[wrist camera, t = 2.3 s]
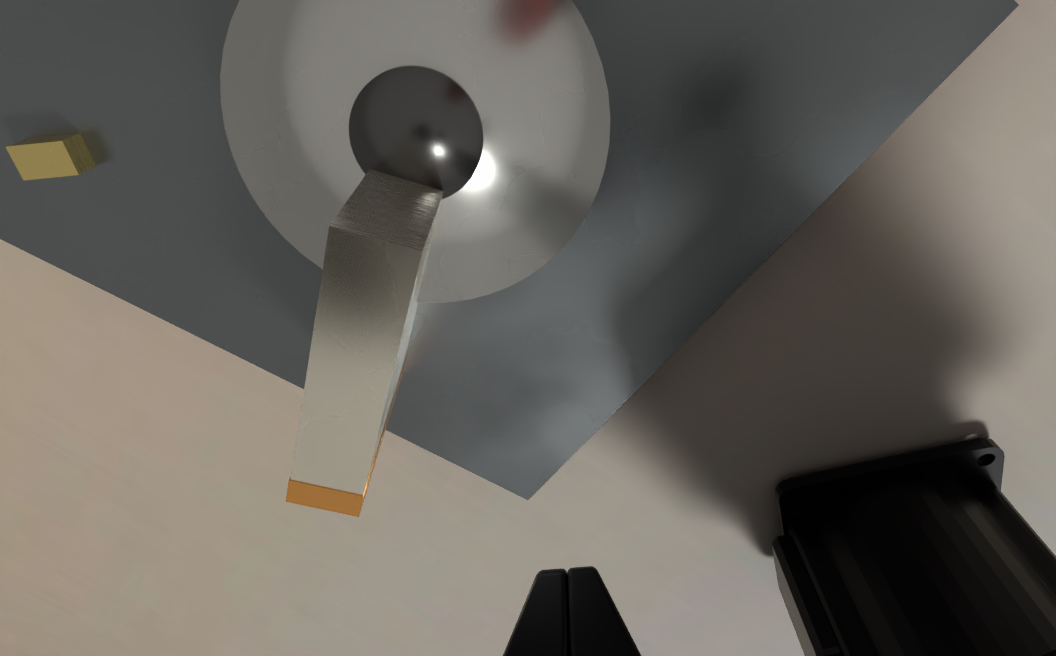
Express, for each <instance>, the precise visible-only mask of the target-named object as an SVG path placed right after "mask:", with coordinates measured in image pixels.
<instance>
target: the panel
mask: <svg viewBox="0 0 1056 656" xmlns="http://www.w3.org/2000/svg"><path fill="white" fill-rule="evenodd" d="M238 2H239V0H0V239H2V240H4V241H6V242H8V243H10V244H12V245H14V246H16V247H18V248H20V249H22V250H24V251H26V252H28V253H30V254H32V255H34V256H36V257H38V258H40V259H42V260H44V261H46V262H48V263H50V264H52V265H54V266H56V267H58V268H60V269H62V270H64V271H66V272H68V273H70V274H72V275H74V276H76V277H78V278H80V279H82V280H84V281H86V282H88V283H91V284H93V285H95V286H97V287H99V288H101V289H103V290H105V291H107V292H109V293H111V294H113V295H115V296H117V297H119V298H121V299H123V300H125V301H127V302H129V303H131V304H133V305H135V306H137V307H139V308H141V309H143V310H145V311H147V312H149V313H151V314H153V315H155V316H157V317H159V318H161V319H163V320H165V321H167V322H169V323H171V324H173V325H175V326H177V327H179V328H181V329H183V330H185V331H187V332H190V333H192V334H194V335H196V336H198V337H200V338H202V339H204V340H206V341H208V342H210V343H212V344H214V345H216V346H218V347H220V348H222V349H224V350H226V351H228V352H230V353H232V354H234V355H236V356H238V357H240V358H242V359H244V360H246V361H248V362H250V363H252V364H254V365H256V366H258V367H260V368H262V369H264V370H266V371H268V372H270V373H272V374H274V375H276V376H278V377H280V378H282V379H284V380H286V381H289V382H291V383H293V384H295V385H297V386H299V387H301V388H303V389H304V387H305V381H306V374H307V368H308V361H309V355H310V348H311V341H312V335H313V328H314V322H315V315H316V309H317V302H318V296H319V289H320V283H321V276H322V270H323V269H321V268H320V267H319V266H317V265H316V264H314V263H313V262H312V261H310V260H309V259H308V258H306V257H305V256H304V255H302V254H301V253H300V252H299V251H298V250H297V249H296V248H295V247H293V246H292V245H291V244H290V243H289V242H288V241H287V240H286V239H285V238H284V237H283V236H282V235H281V234H280V233H279V232H278V230H277V229H276V228H275V227H274V226H273V225H272V224H271V222H270V221H269V220H268V219H267V218H266V216H265V215H264V213H263V212H262V210H261V209H260V208H259V206H258V205H257V203H256V202H255V200H254V199H253V197H252V195H251V194H250V192H249V190H248V188H247V186H246V184H245V183H244V181H243V179H242V177H241V175H240V172H239V170H238V168H237V165H236V163H235V160H234V158H233V155H232V153H231V149H230V146H229V142H228V138H227V135H226V131H225V127H224V121H223V114H222V107H221V93H220V72H221V63H222V55H223V47H224V43H225V40H226V36H227V32H228V28H229V24H230V21H231V19H232V16H233V14H234V12H235V9H236V7H237V5H238ZM572 2H573V3H574V4H575V6H576V7H577V9H578V10H579V12H580V14H581V16H582V18H583V20H584V22H585V24H586V26H587V28H588V30H589V32H590V34H591V36H592V37H593V40H594V43H595V46H596V48H597V51H598V54H599V57H600V60H601V62H602V66H603V70H604V75H605V79H606V84H607V89H608V96H609V107H610V140H609V149H608V154H607V160H606V166H605V170H604V173H603V177H602V180H601V183H600V186H599V189H598V192H597V194H596V197H595V199H594V201H593V203H592V205H591V207H590V210H589V212H588V214H587V215H586V217H585V218H584V220H583V221H582V223H581V225H580V226H579V228H578V229H577V231H576V232H575V234H574V235H573V236H572V237H571V238H570V240H569V241H568V242H567V243H566V245H565V246H564V247H563V248H562V249H561V250H560V251H559V252H558V253H557V254H556V255H555V256H554V257H553V258H552V259H550V260H549V261H548V262H547V263H546V264H545V265H544V266H542V267H541V268H539V269H538V270H537V271H535V272H534V273H532V274H531V275H530V276H528V277H526V278H524V279H523V280H521V281H519V282H517V283H515V284H513V285H512V286H510V287H507V288H505V289H502V290H500V291H497V292H494V293H492V294H489V295H485V296H481V297H478V298H474V299H470V300H463V301H455V302H448V303H422V302H419V303H418V307H417V311H416V315H415V319H414V323H413V327H412V331H411V335H410V339H409V343H408V347H407V351H406V355H405V359H404V363H403V365H404V366H403V370H402V374H401V378H400V382H399V386H398V389H397V392H396V396H395V399H394V402H393V406H392V409H391V412H390V415H389V419H388V422H387V425H386V429H385V430H388V431H390V432H392V433H394V434H396V435H398V436H400V437H402V438H404V439H406V440H408V441H410V442H412V443H414V444H416V445H418V446H420V447H422V448H424V449H426V450H428V451H430V452H432V453H434V454H436V455H438V456H440V457H442V458H444V459H446V460H448V461H450V462H452V463H454V464H456V465H458V466H460V467H462V468H464V469H466V470H468V471H470V472H472V473H474V474H476V475H478V476H480V477H482V478H485V479H487V480H489V481H491V482H493V483H495V484H497V485H499V486H501V487H503V488H505V489H507V490H509V491H511V492H513V493H515V494H517V495H519V496H521V497H523V498H525V499H527V500H529V499H530V498H531V497H532V496H533V495H534V494H535V493H536V492H537V491H538V490H539V489H540V488H541V487H542V486H543V485H544V484H545V483H546V482H547V481H548V480H549V479H550V478H551V477H552V476H553V475H554V474H555V473H556V472H557V471H558V470H559V468H560V467H561V466H562V465H563V464H564V463H565V462H566V461H567V460H568V459H569V458H570V457H571V456H572V455H573V454H574V453H575V452H576V451H577V450H578V449H579V448H580V447H581V446H582V445H583V444H584V443H585V442H586V441H587V440H588V439H589V438H590V437H591V436H592V435H593V434H594V433H595V432H596V431H597V430H598V429H599V428H600V427H601V426H602V425H603V424H604V423H605V422H606V421H607V420H608V419H609V418H610V417H611V416H612V415H613V414H614V413H615V412H616V411H617V410H618V409H619V408H620V407H621V406H622V405H623V404H624V403H625V402H626V401H627V400H628V399H629V398H630V397H631V396H632V395H633V394H634V393H635V392H636V391H637V390H638V389H639V388H640V387H641V386H642V385H643V384H644V383H645V382H646V381H647V380H648V379H649V378H650V377H651V376H652V375H653V374H654V373H655V372H656V371H657V370H658V369H659V368H660V367H661V366H662V365H663V364H664V363H665V362H666V361H667V360H668V359H669V358H670V357H671V355H672V354H673V353H674V352H675V351H676V350H677V349H678V348H679V347H680V346H681V345H682V344H683V343H684V342H685V341H686V340H687V339H688V338H689V337H690V336H691V335H692V334H693V333H694V332H695V331H696V330H697V329H698V328H699V327H700V326H701V325H702V324H703V323H704V322H705V321H706V320H707V319H708V318H709V317H710V316H711V315H712V314H713V313H714V312H715V311H716V310H717V309H718V308H719V307H720V306H721V305H722V304H723V303H724V302H725V301H726V300H727V299H728V298H729V297H730V296H731V295H732V294H733V293H734V292H735V291H736V290H737V289H738V288H739V287H740V286H741V285H742V284H743V283H744V282H745V281H746V280H747V279H748V278H749V277H750V276H751V275H752V274H753V273H754V272H755V271H756V270H757V269H758V268H759V267H760V266H761V265H762V264H763V263H764V262H765V261H766V260H767V259H768V258H769V257H770V256H771V255H772V254H773V253H774V252H775V251H776V250H777V249H778V248H779V247H780V246H781V245H782V243H783V242H784V241H785V240H786V239H787V238H788V237H789V236H790V235H791V234H792V233H793V232H794V231H795V230H796V229H797V228H798V227H799V226H800V225H801V224H802V223H803V222H804V221H805V220H806V219H807V218H808V217H809V216H810V215H811V214H812V213H813V212H814V211H815V210H816V209H817V208H818V207H819V206H820V205H821V204H822V203H823V202H824V201H825V200H826V199H827V198H828V197H829V196H830V195H831V194H832V193H833V192H834V191H835V190H836V189H837V188H838V187H839V186H840V185H841V184H842V183H843V182H844V181H845V180H846V179H847V178H848V177H849V176H850V175H851V174H852V173H853V172H854V171H855V170H856V169H857V168H858V167H859V166H860V165H861V164H862V163H863V162H864V161H865V160H866V159H867V158H868V157H869V156H870V155H871V154H872V153H873V152H874V151H875V150H876V149H877V148H878V147H879V146H880V145H881V144H882V143H883V142H884V141H885V140H886V139H887V138H888V137H889V136H890V135H891V134H892V133H893V131H894V130H895V129H896V128H897V127H898V126H899V125H900V124H901V123H902V122H903V121H904V120H905V119H906V118H907V117H908V116H909V115H910V114H911V113H912V112H913V111H914V110H915V109H916V108H917V107H918V106H919V105H920V104H921V103H922V102H923V101H924V100H925V99H926V98H927V97H928V96H929V95H930V94H931V93H932V92H933V91H934V90H935V89H936V88H937V87H938V86H939V85H940V84H941V83H942V82H943V81H944V80H945V79H946V78H947V77H948V76H949V75H950V74H951V73H952V72H953V71H954V70H955V69H956V68H957V67H958V66H959V65H960V64H961V63H962V62H963V61H964V60H965V59H966V58H967V57H968V56H969V55H970V54H971V53H972V52H973V51H974V50H975V49H976V48H977V47H978V46H979V45H980V44H981V43H982V42H983V41H984V40H985V39H986V38H987V37H988V36H989V35H990V34H991V33H992V32H993V31H994V30H995V29H996V28H997V27H998V26H999V25H1000V24H1001V23H1002V22H1003V21H1004V20H1005V18H1006V17H1007V16H1008V15H1009V14H1010V13H1011V12H1012V11H1013V10H1014V9H1015V8H1016V7H1017V6H1018V4H1017V3H1016V2H1015V1H1014V0H572Z"/></svg>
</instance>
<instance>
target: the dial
mask: <svg viewBox="0 0 1056 656" xmlns="http://www.w3.org/2000/svg"><path fill="white" fill-rule="evenodd" d="M220 93H221V107H222V114H223V121H224V127H225V131H226V135H227V138H228V142H229V146H230V149H231V153H232V155H233V158H234V160H235V163H236V165H237V168H238V170H239V172H240V175H241V177H242V179H243V181H244V183H245V184H246V186H247V188H248V190H249V192H250V194H251V195H252V197H253V199H254V200H255V202H256V203H257V205H258V206H259V208H260V209H261V210H262V212H263V213H264V215H265V216H266V218H267V219H268V220H269V221H270V222H271V224H272V225H273V226H274V227H275V228H276V229H277V230H278V232H279V233H280V234H281V235H282V236H283V237H284V238H285V239H286V240H287V241H288V242H289V243H290V244H291V245H292V246H293V247H295V248H296V249H297V250H298V251H299V252H300V253H301V254H302V255H304V256H305V257H306V258H308V259H309V260H310V261H312V262H313V263H314V264H316V265H317V266H319V267H320V268H321V269H323V270H322V276H321V283H320V289H319V296H318V302H317V309H316V315H315V322H314V328H313V335H312V341H311V348H310V355H309V361H308V368H307V374H306V381H305V387H304V394H303V400H302V407H301V413H300V420H299V426H298V433H297V439H296V446H295V452H294V459H293V466H292V472H291V477H290V479H289V483H288V490H287V496H286V502H291V503H295V504H300V505H305V506H309V507H314V508H319V509H324V510H328V511H333V512H338V513H343V514H347V515H352V516H357V517H359V515H360V511H361V508H362V505H363V501H364V498H365V495H366V492H367V488H368V485H369V482H370V478H371V475H372V472H373V468H374V465H375V462H376V458H377V455H378V452H379V449H380V445H381V442H382V439H383V435H384V432H385V429H386V425H387V422H388V419H389V415H390V412H391V409H392V406H393V402H394V399H395V396H396V392H397V389H398V386H399V382H400V378H401V374H402V370H403V366H404V365H403V363H404V359H405V355H406V351H407V347H408V343H409V339H410V335H411V331H412V327H413V323H414V319H415V315H416V311H417V307H418V303H419V302H422V303H448V302H455V301H463V300H470V299H474V298H478V297H481V296H485V295H489V294H492V293H494V292H497V291H500V290H502V289H505V288H507V287H510V286H512V285H513V284H515V283H517V282H519V281H521V280H523V279H524V278H526V277H528V276H530V275H531V274H532V273H534V272H535V271H537V270H538V269H539V268H541V267H542V266H544V265H545V264H546V263H547V262H548V261H549V260H550V259H552V258H553V257H554V256H555V255H556V254H557V253H558V252H559V251H560V250H561V249H562V248H563V247H564V246H565V245H566V243H567V242H568V241H569V240H570V238H571V237H572V236H573V235H574V234H575V232H576V231H577V229H578V228H579V226H580V225H581V223H582V221H583V220H584V218H585V217H586V215H587V214H588V212H589V210H590V207H591V205H592V203H593V201H594V199H595V197H596V194H597V192H598V189H599V186H600V183H601V180H602V177H603V173H604V170H605V166H606V160H607V154H608V149H609V140H610V107H609V96H608V89H607V84H606V79H605V75H604V70H603V66H602V62H601V60H600V57H599V54H598V51H597V48H596V46H595V43H594V40H593V37H592V36H591V34H590V32H589V30H588V28H587V26H586V24H585V22H584V20H583V18H582V16H581V14H580V12H579V10H578V9H577V7H576V6H575V4H574V3H573V2H572V0H239V2H238V5H237V7H236V9H235V12H234V14H233V16H232V19H231V21H230V24H229V28H228V32H227V36H226V40H225V43H224V47H223V55H222V63H221V72H220Z"/></svg>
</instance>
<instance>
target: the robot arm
mask: <svg viewBox="0 0 1056 656" xmlns="http://www.w3.org/2000/svg"><path fill="white" fill-rule="evenodd" d="M1003 465H1004V452H1003V451H1002V450H1001V449H1000V447H999V446H998V445H997V444H996V443H995V442H994V441H993V440H992V439H988V438H979V439H974V440H969V441H965V442H960V443H955V444H950V445H946V446H941V447H936V448H931V449H927V450H922V451H917V452H912V453H908V454H903V455H898V456H893V457H889V458H884V459H879V460H874V461H870V462H865V463H860V464H855V465H851V466H846V467H841V468H837V469H832V470H827V471H822V472H818V473H813V474H808V475H803V476H799V477H794V478H789V479H786V480H784V481H782V482H781V483H779V484H778V485H777V487H776V488H775V497H776V503H777V509H778V516H779V522H780V529H781V535H779V536H776V537H775V538H774V540H773V542H772V550H773V556H774V562H775V568H776V573H777V579H778V585H779V589H780V592H781V594H782V597H783V599H784V602H785V605H786V607H787V610H788V613H789V615H790V618H791V620H792V623H793V626H794V628H795V631H796V634H797V636H798V639H799V641H800V644H801V647H802V649H803V652H804V655H805V656H1056V556H1055V555H1054V554H1053V552H1052V551H1051V550H1050V549H1049V548H1048V547H1047V545H1046V544H1045V543H1044V542H1043V541H1042V539H1041V538H1040V537H1039V536H1038V535H1037V534H1036V532H1035V531H1034V530H1033V529H1032V528H1031V527H1030V525H1029V524H1028V523H1027V522H1026V521H1025V520H1024V518H1023V517H1022V516H1021V515H1020V514H1019V512H1018V511H1017V510H1016V509H1015V508H1014V507H1013V505H1012V504H1011V503H1010V502H1009V501H1008V500H1007V498H1006V497H1005V496H1004V495H1003V494H1002V492H1001V483H1002V474H1003ZM794 493H795V494H794ZM792 494H793V495H792ZM503 656H641V654H640V652H639V651H638V649H637V647H636V645H635V643H634V641H633V639H632V637H631V635H630V633H629V631H628V629H627V627H626V625H625V623H624V621H623V619H622V617H621V615H620V613H619V612H618V610H617V608H616V606H615V604H614V602H613V600H612V598H611V596H610V594H609V592H608V590H607V588H606V586H605V584H604V582H603V580H602V578H601V576H600V574H599V573H598V571H597V569H596V568H594V567H592V566H589V567H576V568H570V569H569V570H568V572H566V570H564V569H550V570H541V571H540V572H539V573H538V574H537V575H536V577H535V580H534V582H533V584H532V587H531V589H530V592H529V594H528V596H527V599H526V601H525V604H524V606H523V609H522V611H521V613H520V616H519V618H518V621H517V623H516V625H515V628H514V630H513V633H512V635H511V637H510V640H509V642H508V645H507V647H506V649H505V652H504V654H503Z"/></svg>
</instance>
